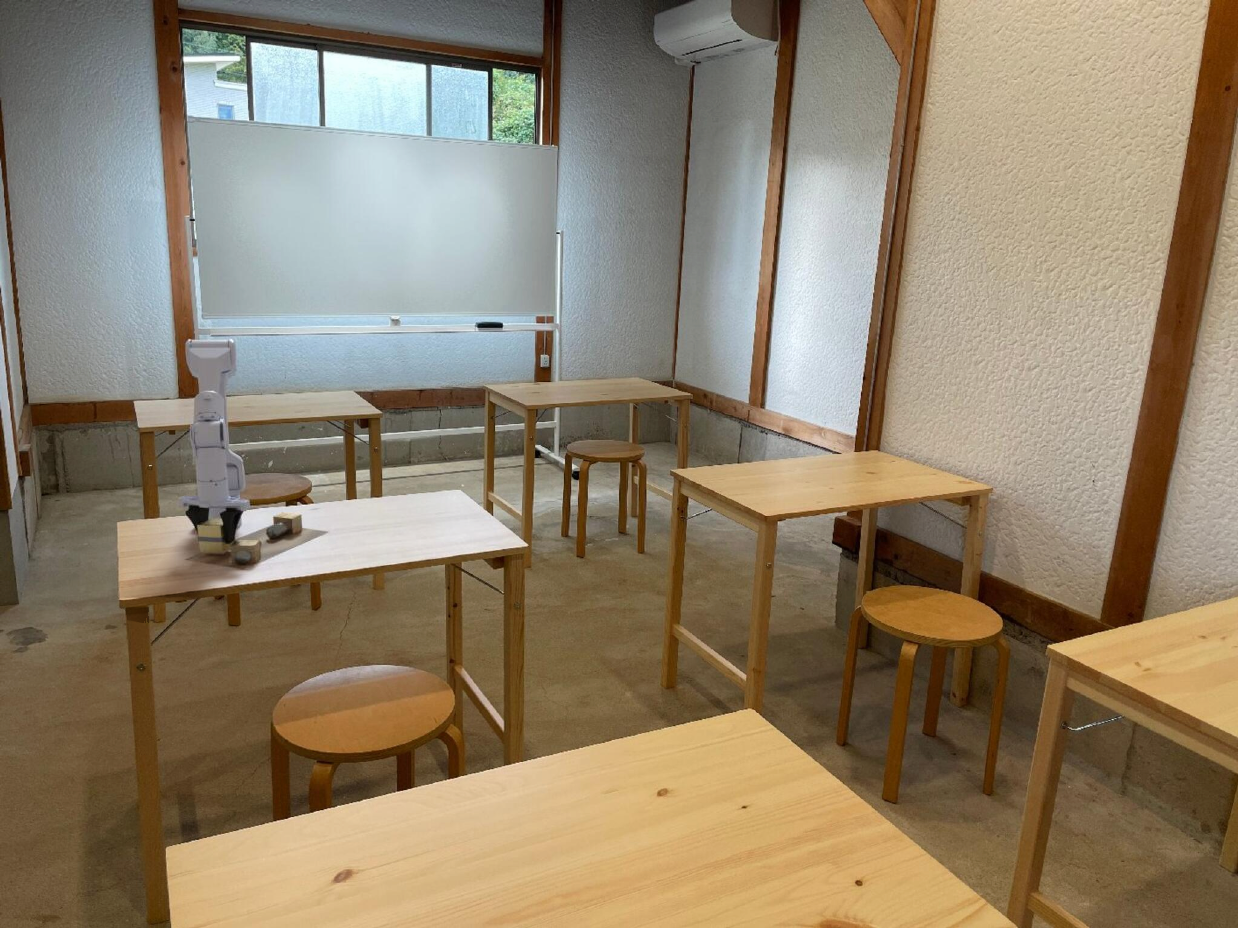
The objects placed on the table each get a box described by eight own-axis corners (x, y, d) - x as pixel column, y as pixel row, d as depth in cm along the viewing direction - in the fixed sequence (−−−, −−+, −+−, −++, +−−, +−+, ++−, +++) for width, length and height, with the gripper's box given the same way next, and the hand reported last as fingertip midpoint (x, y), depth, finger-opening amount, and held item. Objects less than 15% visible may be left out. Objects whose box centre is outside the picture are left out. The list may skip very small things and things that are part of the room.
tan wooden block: (199, 552, 183) (196, 525, 182) (213, 544, 188) (210, 517, 187) (223, 553, 183) (220, 526, 181) (236, 546, 188) (233, 518, 186)
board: (185, 564, 182) (184, 559, 182) (275, 528, 207) (275, 523, 206) (244, 574, 177) (243, 569, 177) (329, 536, 202) (329, 531, 202)
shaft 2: (281, 540, 195) (280, 523, 194) (262, 538, 196) (261, 521, 195) (305, 528, 203) (304, 512, 203) (286, 526, 205) (285, 510, 204)
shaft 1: (243, 550, 188) (242, 533, 187) (266, 550, 188) (265, 533, 187) (229, 565, 179) (228, 547, 178) (254, 565, 179) (253, 547, 178)
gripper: (167, 481, 179) (173, 545, 182) (235, 485, 177) (240, 549, 180) (187, 472, 186) (193, 534, 189) (253, 476, 184) (257, 539, 187)
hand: (217, 541), depth 185 cm, fingers closed on tan wooden block, 5 cm apart
